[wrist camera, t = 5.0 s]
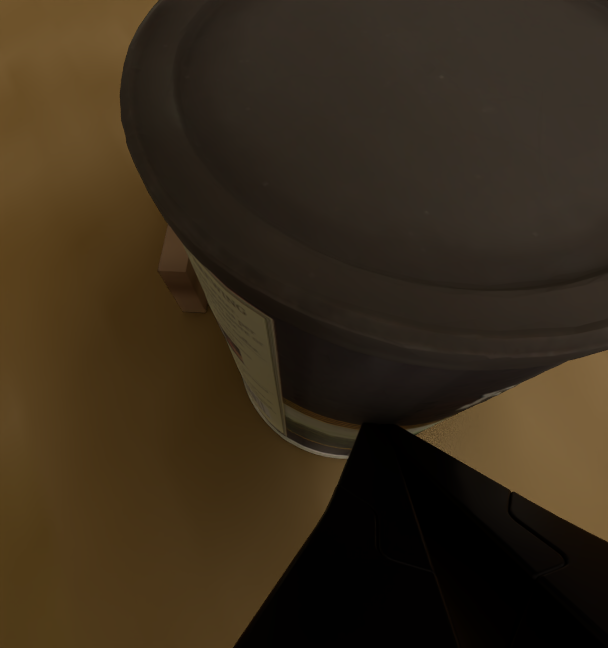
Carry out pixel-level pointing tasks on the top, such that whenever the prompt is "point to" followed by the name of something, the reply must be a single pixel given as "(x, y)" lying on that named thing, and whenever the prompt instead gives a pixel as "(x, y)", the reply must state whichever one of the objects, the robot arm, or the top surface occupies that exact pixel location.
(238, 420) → the top surface
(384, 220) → the coffee can
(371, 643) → the robot arm
